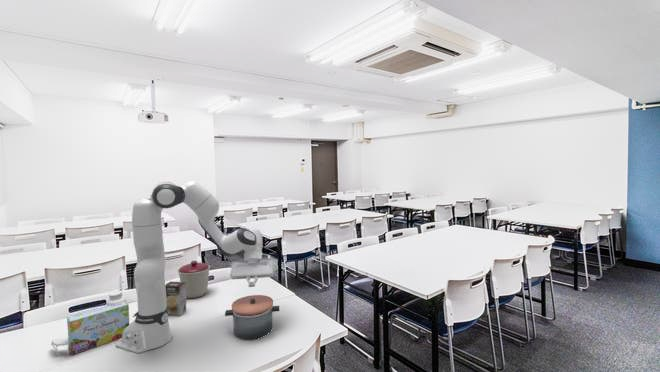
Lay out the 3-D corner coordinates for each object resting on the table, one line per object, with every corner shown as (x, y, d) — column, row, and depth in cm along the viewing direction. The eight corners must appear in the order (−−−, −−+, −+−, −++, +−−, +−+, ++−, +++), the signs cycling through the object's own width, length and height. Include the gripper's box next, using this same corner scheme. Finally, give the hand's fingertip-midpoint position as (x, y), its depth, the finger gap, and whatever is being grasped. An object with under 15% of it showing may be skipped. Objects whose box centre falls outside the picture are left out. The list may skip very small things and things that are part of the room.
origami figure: (84, 344, 135) (83, 333, 134) (67, 357, 126) (65, 346, 126) (58, 345, 135) (57, 334, 135) (40, 357, 127) (38, 346, 127)
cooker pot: (222, 343, 135) (222, 319, 135) (229, 321, 154) (228, 300, 154) (280, 337, 140) (279, 313, 139) (279, 316, 158) (279, 296, 158)
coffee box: (163, 315, 161) (162, 285, 160) (171, 310, 168) (169, 281, 166) (180, 316, 160) (179, 286, 159) (187, 310, 167) (186, 281, 166)
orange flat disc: (228, 316, 135) (228, 309, 135) (234, 299, 154) (234, 293, 153) (272, 312, 138) (272, 306, 138) (273, 296, 157) (273, 290, 157)
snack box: (71, 356, 127) (69, 321, 126) (68, 351, 131) (66, 316, 130) (130, 335, 143) (128, 303, 142) (126, 330, 147) (124, 300, 146)
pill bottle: (104, 323, 154) (102, 294, 153) (121, 316, 161) (120, 288, 160) (113, 327, 150) (111, 297, 149) (130, 320, 157) (128, 291, 156)
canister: (184, 304, 174) (182, 267, 173) (174, 294, 188) (173, 260, 186) (215, 294, 187) (214, 260, 185) (204, 286, 200) (203, 254, 199)
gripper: (230, 257, 149) (227, 284, 140) (273, 255, 152) (273, 282, 143) (232, 263, 154) (229, 290, 145) (273, 261, 157) (273, 287, 148)
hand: (251, 286), depth 144 cm, fingers closed
